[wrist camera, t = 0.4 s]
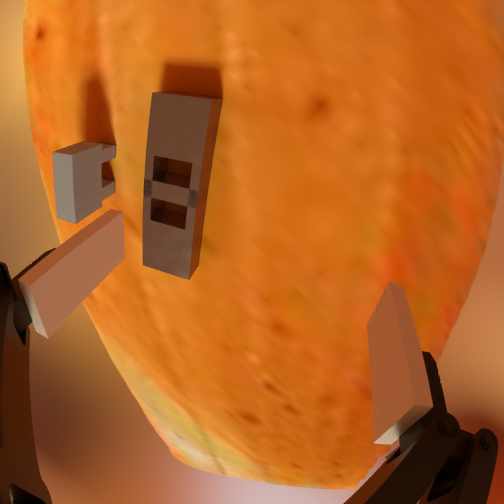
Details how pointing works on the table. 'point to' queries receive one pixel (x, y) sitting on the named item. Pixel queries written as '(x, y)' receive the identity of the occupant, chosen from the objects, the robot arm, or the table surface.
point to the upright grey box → (81, 179)
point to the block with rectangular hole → (177, 179)
